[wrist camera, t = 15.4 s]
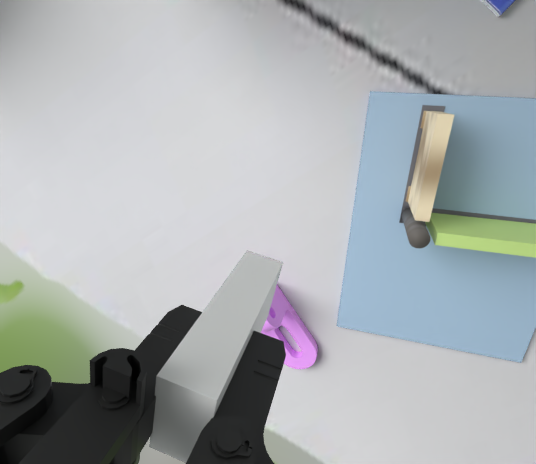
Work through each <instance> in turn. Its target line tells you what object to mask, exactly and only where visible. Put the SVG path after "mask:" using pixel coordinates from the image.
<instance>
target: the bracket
mask: <svg viewBox="0 0 536 464" xmlns="http://www.w3.org/2000/svg"><path fill="white" fill-rule="evenodd" d="M280 325H281V326H284V327H286V328H287V330H288V331H289V333H290V334H291V336H292V337H293V339H294V340H295V341H296V343H297V344H298V346H299V347H300V349H301V350H302V352H296V351H294V350H293V349H292V348H291V346H290V345H289V343H288V342H287V340H286V339H285V337H284V336H283V335H282V333H281V332H280V330H279V329H278V327H280ZM261 333H262V334H265V335H268V336H270V337H273V338H276V339H278V340H281V341H283V342H284V347H285V352H286V357H285V360H284V364H285V365H287V366H289V367H291V368H295V369H305V368H308V367H310V366H312V365H313V364H314V362H315V361H316V357H317V352H318V347H317V343H316V341H315V340H314V338H313V337H312V335H311V334H310V332H309V331H308V329H307V328H306V326H305V325H304V324H303V322H302V321H301V319H300V318H299V316H298V315H297V313H296V312H295V310H294V309H293V307H292V306H291V304H290V303H289V301H288V300H287V298H286V297H285V295H284V294H283V292H282V291H281V290H280V288H279V287H278V285H276V289H275V293H274V296H273V300H272V303H271V307H270V310H269V314H268V317H267V319H266V322H265V324H264V326H263V328H262V331H261Z"/></svg>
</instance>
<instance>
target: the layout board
mask: <svg viewBox="0 0 536 464" xmlns="http://www.w3.org/2000/svg"><path fill="white" fill-rule="evenodd" d="M424 111H439V112H444V113H449V114H454V119H453V123H452V128H451V132H450V136H449V140H448V145H447V149H446V153H445V157H444V162H443V166H442V170H441V174H440V179H439V183H438V187H437V191H436V196H435V200H434V204H433V208H432V213H439V214H449V215H458V216H468V217H477V218H487V219H496V220H506V221H515V222H524V223H534V224H536V98H514V97H490V96H466V95H442V94H419V93H395V92H371V91H370V97H369V104H368V111H367V118H366V125H365V131H364V138H363V145H362V152H361V159H360V166H359V173H358V180H357V187H356V194H355V201H354V208H353V215H352V222H351V229H350V236H349V243H348V250H347V257H346V264H345V271H344V278H343V285H342V292H341V299H340V306H339V313H338V320H337V326H338V327H343V328H348V329H353V330H358V331H363V332H368V333H373V334H379V335H384V336H389V337H394V338H399V339H404V340H409V341H414V342H419V343H424V344H429V345H434V346H439V347H444V348H449V349H454V350H459V351H464V352H469V353H475V354H480V355H485V356H490V357H495V358H500V359H505V360H510V361H515V362H520V363H521V362H522V360H523V357H524V355H525V352H526V350H527V348H528V345H529V343H530V340H531V338H532V335H533V333H534V331H535V328H536V258H534V257H526V256H518V255H510V254H502V253H494V252H486V251H478V250H470V249H462V248H455V247H447V246H439V245H435V244H434V242H433V239H432V237H431V235H430V233H429V231H428V233H429V235H430V243H429V244H428V245H427V246H426V247H424V248H414V247H412V246H411V245H410V243H409V241H408V237H407V233H406V230H405V226H404V223H403V219H402V212H403V211H404V210H405V209H406V208H408V207H410V206H409V203H408V202H406V196H407V191H408V187H409V186H411V184H412V179H413V174H414V170H415V165H416V160H417V155H418V150H419V145H420V140H421V135H422V131H423V128H420V127H421V122H422V117H423V112H424ZM424 223H425V221H424ZM425 226H426V224H425ZM426 228H427V226H426ZM427 230H428V228H427Z"/></svg>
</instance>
